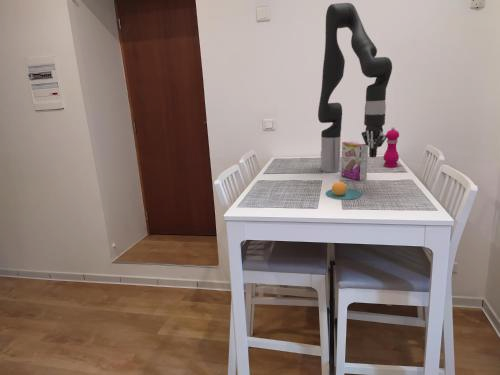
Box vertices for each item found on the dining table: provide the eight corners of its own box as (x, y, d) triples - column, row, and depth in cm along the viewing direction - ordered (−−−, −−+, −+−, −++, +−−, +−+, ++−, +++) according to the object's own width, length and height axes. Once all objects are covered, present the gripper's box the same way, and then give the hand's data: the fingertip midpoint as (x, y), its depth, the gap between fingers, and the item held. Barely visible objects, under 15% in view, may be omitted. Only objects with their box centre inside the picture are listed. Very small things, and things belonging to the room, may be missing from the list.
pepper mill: (399, 167, 167) (402, 127, 162) (384, 168, 169) (386, 127, 163) (396, 164, 174) (399, 125, 168) (381, 164, 176) (384, 126, 170)
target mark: (319, 191, 139) (319, 191, 139) (348, 186, 143) (348, 186, 143) (337, 201, 126) (337, 201, 126) (369, 196, 130) (369, 195, 130)
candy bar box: (340, 176, 159) (341, 141, 154) (348, 174, 161) (349, 140, 157) (359, 181, 150) (360, 144, 145) (367, 179, 152) (368, 143, 147)
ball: (328, 192, 135) (331, 179, 133) (340, 193, 136) (343, 180, 135) (334, 197, 129) (337, 183, 128) (347, 198, 131) (350, 184, 129)
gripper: (356, 112, 134) (354, 155, 139) (378, 114, 122) (375, 161, 127) (372, 111, 136) (370, 153, 141) (395, 112, 124) (392, 158, 129)
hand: (372, 156), depth 134 cm, fingers closed
